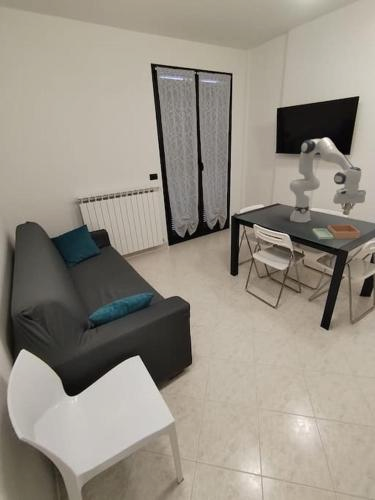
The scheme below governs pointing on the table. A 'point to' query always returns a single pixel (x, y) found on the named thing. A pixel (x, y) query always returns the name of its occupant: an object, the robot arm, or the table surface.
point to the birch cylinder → (347, 209)
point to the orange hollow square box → (343, 231)
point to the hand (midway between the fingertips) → (347, 208)
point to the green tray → (323, 233)
